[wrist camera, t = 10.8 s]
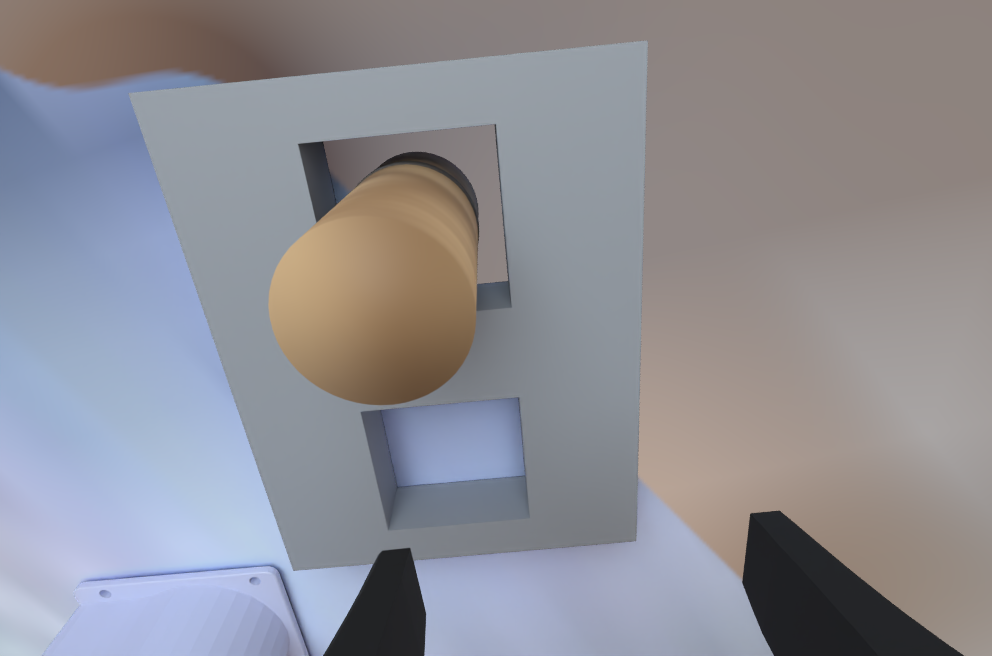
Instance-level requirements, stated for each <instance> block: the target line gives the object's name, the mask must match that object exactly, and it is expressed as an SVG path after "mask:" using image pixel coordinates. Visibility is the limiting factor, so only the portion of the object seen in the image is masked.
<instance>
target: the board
mask: <svg viewBox="0 0 992 656" xmlns="http://www.w3.org/2000/svg"><path fill="white" fill-rule="evenodd" d="M647 50H648V41H638V42H629V43H620V44H609V45H599V46H589V47H580V48H569V49H560V50H550V51H540V52H530V53H520V54H511V55H501V56H492V57H481V58H472V59H462V60H452V61H441V62H432V63H422V64H412V65H402V66H392V67H382V68H372V69H363V70H353V71H343V72H333V73H323V74H314V75H303V76H294V77H284V78H274V79H264V80H254V81H245V82H235V83H225V84H215V85H205V86H195V87H185V88H175V89H165V90H156V91H146V92H136V93H128V94H129V97H130V99H131V102H132V105H133V108H134V111H135V114H136V117H137V120H138V123H139V126H140V128H141V131H142V134H143V137H144V140H145V143H146V146H147V149H148V152H149V154H150V157H151V160H152V163H153V166H154V169H155V172H156V175H157V178H158V181H159V183H160V186H161V189H162V192H163V195H164V198H165V201H166V204H167V207H168V209H169V212H170V215H171V218H172V221H173V224H174V227H175V230H176V233H177V235H178V238H179V241H180V244H181V247H182V250H183V253H184V256H185V259H186V262H187V264H188V267H189V270H190V273H191V276H192V279H193V282H194V285H195V288H196V290H197V293H198V296H199V299H200V302H201V305H202V308H203V311H204V314H205V316H206V319H207V322H208V325H209V328H210V331H211V334H212V337H213V340H214V343H215V345H216V348H217V351H218V354H219V357H220V360H221V363H222V366H223V369H224V371H225V374H226V377H227V380H228V383H229V386H230V389H231V392H232V395H233V397H234V400H235V403H236V406H237V409H238V412H239V415H240V418H241V421H242V424H243V426H244V429H245V432H246V435H247V438H248V441H249V444H250V447H251V450H252V452H253V455H254V458H255V461H256V464H257V467H258V470H259V473H260V476H261V479H262V481H263V484H264V487H265V490H266V493H267V496H268V499H269V502H270V505H271V507H272V510H273V513H274V516H275V519H276V522H277V525H278V528H279V531H280V533H281V536H282V539H283V542H284V545H285V548H286V551H287V554H288V557H289V560H290V562H291V565H292V568H293V571H297V570H308V569H320V568H331V567H343V566H354V565H366V564H374V562H375V560H376V558H377V556H378V554H379V553H380V552H381V551H383V550H393V549H403V548H411V553H412V557H413V560H424V559H435V558H447V557H459V556H470V555H482V554H493V553H505V552H516V551H528V550H540V549H551V548H563V547H574V546H586V545H597V544H609V543H621V542H632V541H636V530H637V486H638V443H639V399H640V398H639V396H640V352H641V312H642V268H643V224H644V180H645V136H646V92H647ZM492 124H495V133H496V145H497V157H498V168H499V180H500V191H501V203H502V214H503V226H504V237H505V248H506V259H507V272H508V281H506V282H495V283H484V284H477V302H476V327H475V334H474V339H473V343H472V346H471V348H470V351H469V354H468V355H467V357H466V359H465V361H464V363H463V364H462V366H461V367H460V368H459V370H458V371H457V372H456V374H455V375H454V376H453V377H452V378H451V379H450V380H449V381H448V382H446V383H445V384H444V385H442V386H441V387H440V388H438V389H437V390H435V391H433V392H432V393H430V394H428V395H426V396H423V397H421V398H419V399H416V400H413V401H409V402H406V403H400V404H394V405H367V404H361V403H355V402H352V401H348V400H345V399H342V398H339V397H337V396H334V395H332V394H330V393H328V392H326V391H324V390H322V389H320V388H319V387H317V386H316V385H314V384H313V383H311V382H310V381H309V380H308V379H306V378H305V377H304V376H303V375H302V374H301V373H299V372H298V370H297V369H296V368H295V367H294V366H293V365H292V364H291V363H290V361H289V360H288V359H287V357H286V356H285V354H284V353H283V351H282V350H281V348H280V346H279V344H278V342H277V340H276V337H275V335H274V332H273V330H272V325H271V321H270V317H269V306H268V303H269V290H270V285H271V280H272V278H273V275H274V272H275V270H276V267H277V266H278V264H279V262H280V260H281V258H282V257H283V256H284V254H285V253H286V252H287V250H288V249H289V248H290V247H291V246H292V245H293V244H294V243H295V242H296V241H297V240H298V239H299V238H300V237H301V236H303V235H304V234H305V233H306V232H307V231H308V230H309V229H310V228H311V227H313V226H314V225H315V224H316V223H317V222H318V221H319V220H320V219H321V218H322V217H324V216H325V215H326V214H327V213H328V212H329V211H330V210H331V209H332V208H334V207H335V206H336V200H335V196H334V191H333V186H332V182H331V177H330V172H329V168H328V163H327V159H326V154H325V149H324V144H323V141H331V140H341V139H350V138H360V137H371V136H381V135H391V134H401V133H411V132H421V131H431V130H442V129H452V128H462V127H472V126H482V125H492ZM516 397H518V398H519V410H520V421H521V433H522V444H523V456H524V467H525V476H519V477H508V478H496V479H485V480H474V481H463V482H451V483H440V484H429V485H417V486H406V487H397V485H396V480H395V475H394V471H393V466H392V461H391V457H390V452H389V447H388V443H387V438H386V433H385V429H384V424H383V419H382V415H381V410H385V409H395V408H406V407H417V406H428V405H439V404H450V403H461V402H472V401H483V400H494V399H505V398H516Z"/></svg>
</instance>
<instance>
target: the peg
mask: <svg viewBox="0 0 992 656" xmlns="http://www.w3.org/2000/svg"><path fill="white" fill-rule="evenodd" d="M478 241H479V222H478V203H477V198H476V195H475V192H474V190H473V188H472V185H471V183H470V182H469V180H468V179H467V177H466V176H465V175H464V174H463V173H462V171H461V170H460V169H458V168H457V167H456V166H455V165H454V164H452V163H451V162H450V161H448V160H446V159H444V158H442V157H440V156H437V155H434V154H430V153H426V152H408V153H403V154H400V155H397V156H394V157H392V158H390V159H388V160H387V161H385V162H384V163H383V164H381V165H380V166H379V167H378V168H377V169H376V170H374V171H373V172H371V173H370V174H369V175H368V176H366V177H365V178H364V179H363V180H362V181H361V182H360V183H359V184H358V185H357V186H356V187H355V189H354V190H352V191H351V192H350V193H349V194H348V195H347V196H346V197H345V198H344V199H342V200H341V201H340V202H339V203H338V204H337V205H336V206H335V207H334V208H332V209H331V210H330V211H329V212H328V213H327V214H326V215H325V216H324V217H322V218H321V219H320V220H319V221H318V222H317V223H316V224H315V225H314V226H313V227H311V228H310V229H309V230H308V231H307V232H306V233H305V234H304V235H303V236H301V237H300V238H299V239H298V240H297V241H296V242H295V243H294V244H293V245H292V246H291V247H290V248H289V249H288V250H287V252H286V253H285V254H284V256H283V257H282V258H281V260H280V262H279V264H278V266H277V267H276V270H275V272H274V275H273V278H272V280H271V285H270V290H269V303H268V306H269V317H270V321H271V325H272V330H273V332H274V335H275V337H276V340H277V342H278V344H279V346H280V348H281V350H282V351H283V353H284V354H285V356H286V357H287V359H288V360H289V361H290V363H291V364H292V365H293V366H294V367H295V368H296V369H297V370H298V372H299V373H301V374H302V375H303V376H304V377H305V378H306V379H308V380H309V381H310V382H311V383H313V384H314V385H316V386H317V387H319V388H320V389H322V390H324V391H326V392H328V393H330V394H332V395H334V396H337V397H339V398H342V399H345V400H348V401H352V402H355V403H361V404H367V405H394V404H400V403H406V402H409V401H413V400H416V399H419V398H421V397H423V396H426V395H428V394H430V393H432V392H433V391H435V390H437V389H438V388H440V387H441V386H442V385H444V384H445V383H446V382H448V381H449V380H450V379H451V378H452V377H453V376H454V375H455V374H456V372H457V371H458V370H459V368H460V367H461V366H462V364H463V363H464V361H465V359H466V357H467V355H468V354H469V351H470V348H471V346H472V343H473V339H474V334H475V327H476V302H477V255H478V254H477V252H478Z"/></svg>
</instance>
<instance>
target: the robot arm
mask: <svg viewBox="0 0 992 656" xmlns="http://www.w3.org/2000/svg"><path fill="white" fill-rule="evenodd" d="M256 577H257V578H256ZM742 583H743V586H744V588H745V591H746V594H747V596H748V599H749V601H750V604H751V607H752V609H753V612H754V614H755V616H756V619H757V621H758V624H759V626H760V629H761V631H762V633H763V635H764V637H765V639H766V641H767V643H768V645H769V647H770V649H771V651H772V653H773V655H774V656H964V655H962V654H961V653H959V652H958V651H957V650H955V649H954V648H952V647H951V646H949V645H948V644H946V643H945V642H944V641H942V640H941V639H939V638H938V637H937V636H935V635H934V634H933V633H931V632H930V631H929V630H927V629H926V628H924V627H923V626H922V625H920V624H919V623H918V622H916V621H915V620H914V619H912V618H911V617H909V616H908V615H907V614H905V613H904V612H903V611H901V610H900V609H899V608H898V607H896V606H895V605H894V604H892V603H891V602H890V601H889V600H887V599H886V598H885V597H883V596H882V595H881V594H880V593H878V592H877V591H876V590H875V589H873V588H872V587H871V586H870V585H868V584H867V583H866V582H865V581H863V580H862V579H861V578H859V577H858V576H857V575H856V574H855V573H853V572H852V571H851V570H850V569H849V568H847V567H846V566H845V565H844V564H843V563H841V562H840V561H839V560H838V559H836V558H835V557H834V556H833V555H832V554H831V553H829V552H828V551H827V550H826V549H825V548H823V547H822V546H821V545H820V544H819V543H817V542H816V541H815V540H814V539H813V538H812V537H810V536H809V535H808V534H807V533H806V532H804V531H803V530H802V529H801V528H800V527H799V526H797V525H796V524H795V523H794V522H793V521H791V520H790V519H789V518H788V517H787V516H785V515H784V514H783V513H782V512H781V511H771V512H761V513H751V514H750V521H749V529H748V539H747V547H746V555H745V564H744V573H743V581H742ZM73 594H74V597H75V598H76V600H77V602H78V603H79V605H80V606H79V607H78V608H77V609H76V611H75V612H74V613H73V615H72V616H71V617H70V619H69V620H68V621H67V623H66V624H65V625H64V627H63V628H62V629H61V631H60V632H59V633H58V635H57V636H56V637H55V639H54V640H53V641H52V642H51V644H50V645H49V646H48V648H47V649H46V650H45V652H44V653H43V654H42V656H309V654H308V651H307V649H306V646H305V643H304V640H303V637H302V635H301V632H300V629H299V626H298V624H297V621H296V618H295V615H294V613H293V610H292V607H291V604H290V602H289V599H288V596H287V593H286V590H285V588H284V585H283V582H282V579H281V577H280V574H279V572H278V570H277V569H275V568H274V567H271V566H262V567H251V568H239V569H228V570H216V571H205V572H193V573H182V574H170V575H158V576H147V577H135V578H124V579H112V580H101V581H89V582H82V583H80V584H79V585H78V586H77V587H76V589H75V590H74V592H73ZM425 627H426V612H425V607H424V603H423V599H422V595H421V590H420V586H419V582H418V578H417V574H416V569H415V565H414V561H413V557H412V553H411V548H403V549H393V550H383V551H381V552H380V553H379V554H378V556H377V558H376V560H375V562H374V564H373V566H372V568H371V570H370V572H369V574H368V576H367V578H366V580H365V582H364V584H363V586H362V588H361V590H360V592H359V594H358V596H357V598H356V599H355V601H354V603H353V605H352V607H351V609H350V610H349V612H348V614H347V616H346V618H345V619H344V621H343V623H342V624H341V626H340V628H339V630H338V631H337V633H336V635H335V637H334V638H333V640H332V642H331V643H330V645H329V647H328V649H327V650H326V652H325V654H324V655H323V656H424V650H425Z"/></svg>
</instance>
